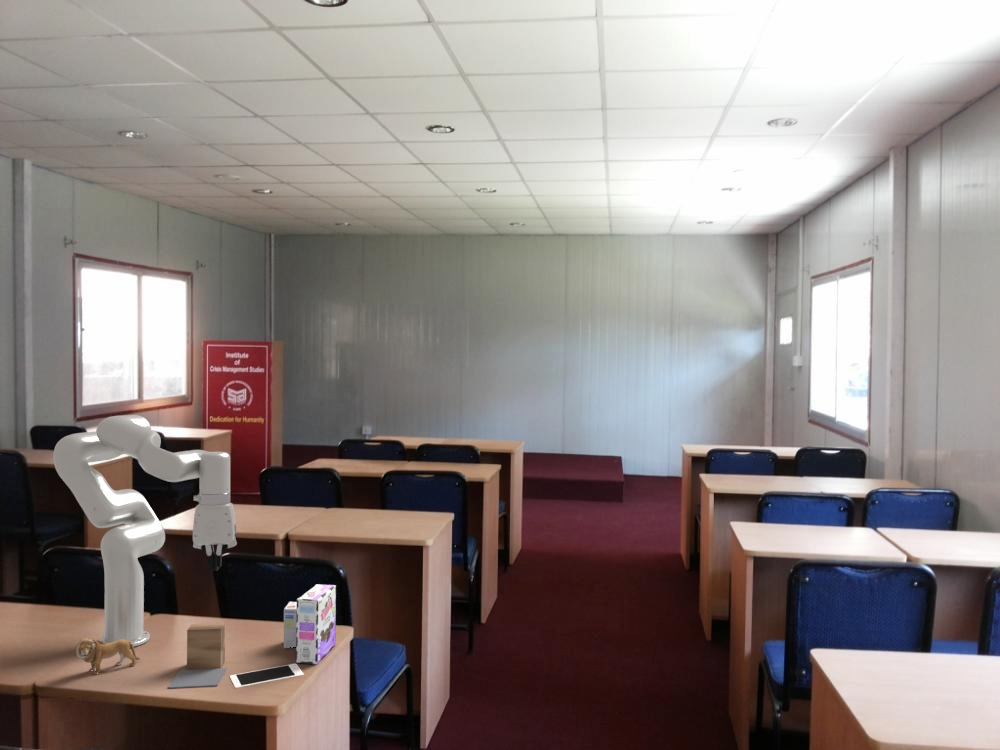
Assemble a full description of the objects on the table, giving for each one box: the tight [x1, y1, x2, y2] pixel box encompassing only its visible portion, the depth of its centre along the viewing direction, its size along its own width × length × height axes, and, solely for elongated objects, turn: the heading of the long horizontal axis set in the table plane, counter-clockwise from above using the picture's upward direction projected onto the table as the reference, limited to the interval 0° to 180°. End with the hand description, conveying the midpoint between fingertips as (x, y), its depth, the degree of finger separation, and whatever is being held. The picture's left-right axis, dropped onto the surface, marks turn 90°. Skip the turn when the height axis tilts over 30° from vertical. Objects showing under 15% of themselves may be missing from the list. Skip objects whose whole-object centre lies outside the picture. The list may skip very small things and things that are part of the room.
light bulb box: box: [283, 601, 297, 649], centre depth 201 cm, size 11×7×11 cm, turn 93°
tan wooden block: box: [186, 622, 226, 670], centre depth 186 cm, size 4×8×10 cm, turn 98°
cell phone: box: [229, 663, 304, 689], centre depth 180 cm, size 8×16×1 cm, turn 120°
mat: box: [167, 667, 227, 690], centre depth 178 cm, size 10×11×1 cm
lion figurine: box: [75, 637, 141, 675], centre depth 183 cm, size 15×5×9 cm, turn 137°
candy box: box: [295, 583, 337, 665], centre depth 194 cm, size 14×6×16 cm, turn 172°
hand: (215, 569), depth 194 cm, fingers closed
